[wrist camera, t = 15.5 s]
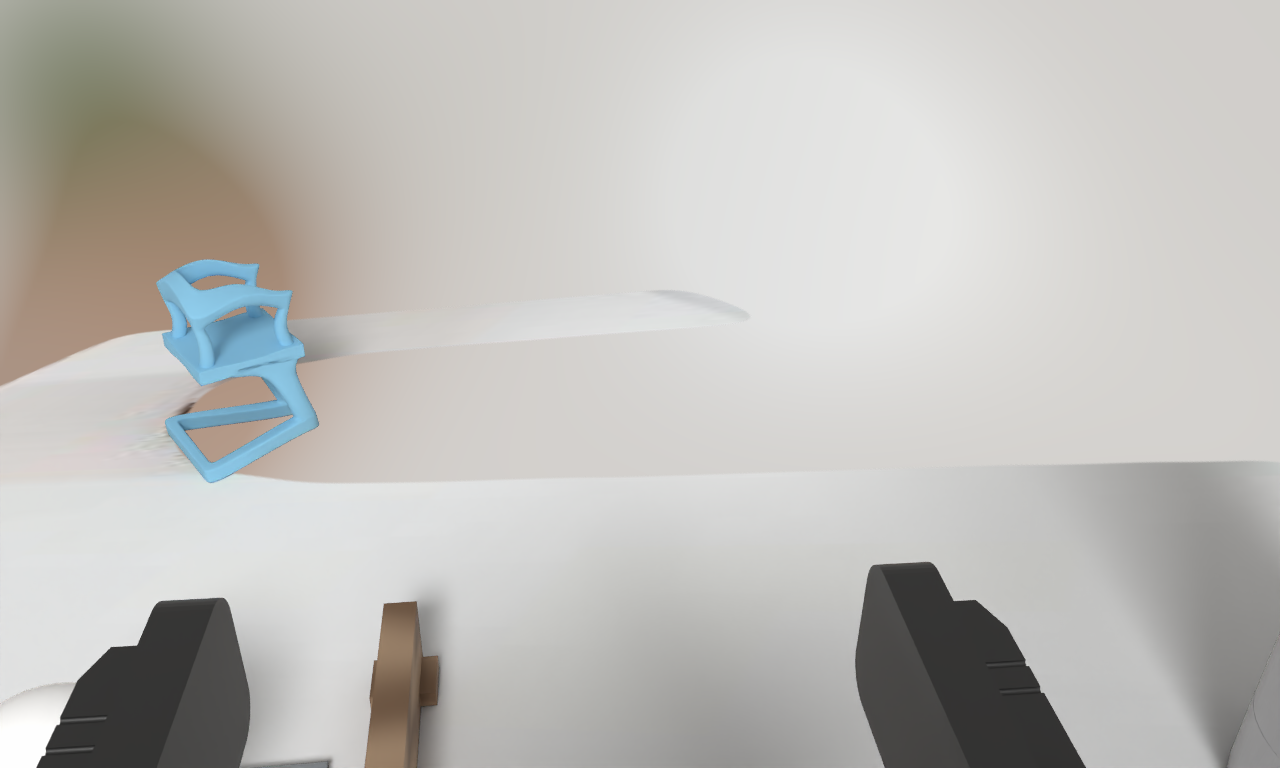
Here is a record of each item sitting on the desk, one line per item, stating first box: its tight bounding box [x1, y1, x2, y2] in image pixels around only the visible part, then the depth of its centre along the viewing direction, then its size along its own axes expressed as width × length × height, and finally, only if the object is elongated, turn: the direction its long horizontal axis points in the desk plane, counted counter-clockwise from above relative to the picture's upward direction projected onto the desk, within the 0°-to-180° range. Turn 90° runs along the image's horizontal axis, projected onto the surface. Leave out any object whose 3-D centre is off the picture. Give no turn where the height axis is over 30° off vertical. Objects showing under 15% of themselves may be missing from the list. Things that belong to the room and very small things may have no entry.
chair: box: [156, 260, 319, 483], centre depth 67 cm, size 8×8×12 cm
